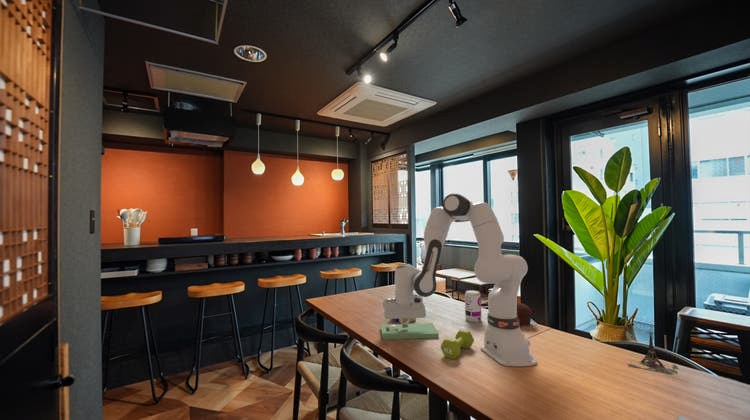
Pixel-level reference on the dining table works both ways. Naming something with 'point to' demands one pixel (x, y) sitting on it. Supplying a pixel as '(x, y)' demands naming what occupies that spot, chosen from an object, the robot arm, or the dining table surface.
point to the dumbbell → (457, 344)
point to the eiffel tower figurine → (654, 361)
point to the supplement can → (473, 306)
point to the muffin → (523, 314)
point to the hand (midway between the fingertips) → (404, 327)
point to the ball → (393, 328)
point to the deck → (410, 331)
